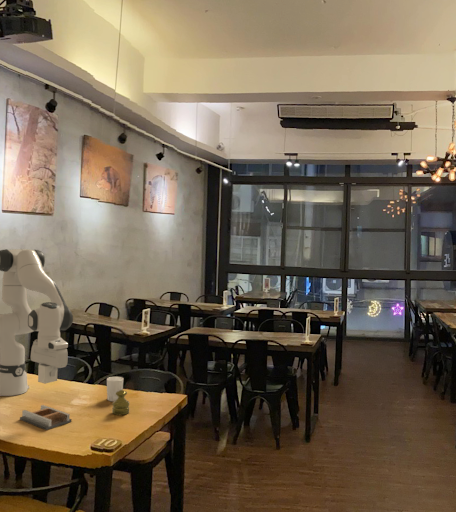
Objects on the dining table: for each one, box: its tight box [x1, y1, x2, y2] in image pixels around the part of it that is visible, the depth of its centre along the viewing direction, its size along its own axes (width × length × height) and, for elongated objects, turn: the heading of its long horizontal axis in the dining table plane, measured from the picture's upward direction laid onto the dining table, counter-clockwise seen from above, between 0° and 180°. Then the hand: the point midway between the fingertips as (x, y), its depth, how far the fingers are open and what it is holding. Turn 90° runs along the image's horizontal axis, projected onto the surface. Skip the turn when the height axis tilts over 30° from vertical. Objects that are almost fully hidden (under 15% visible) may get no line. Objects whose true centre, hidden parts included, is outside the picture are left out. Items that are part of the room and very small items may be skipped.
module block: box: [37, 364, 59, 384], centre depth 202 cm, size 4×6×7 cm
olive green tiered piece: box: [111, 389, 130, 416], centre depth 215 cm, size 7×7×10 cm
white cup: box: [106, 376, 124, 402], centre depth 233 cm, size 8×8×10 cm
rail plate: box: [19, 404, 72, 431], centre depth 202 cm, size 18×12×4 cm, turn 56°
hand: (47, 374), depth 202 cm, fingers closed on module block, 4 cm apart
